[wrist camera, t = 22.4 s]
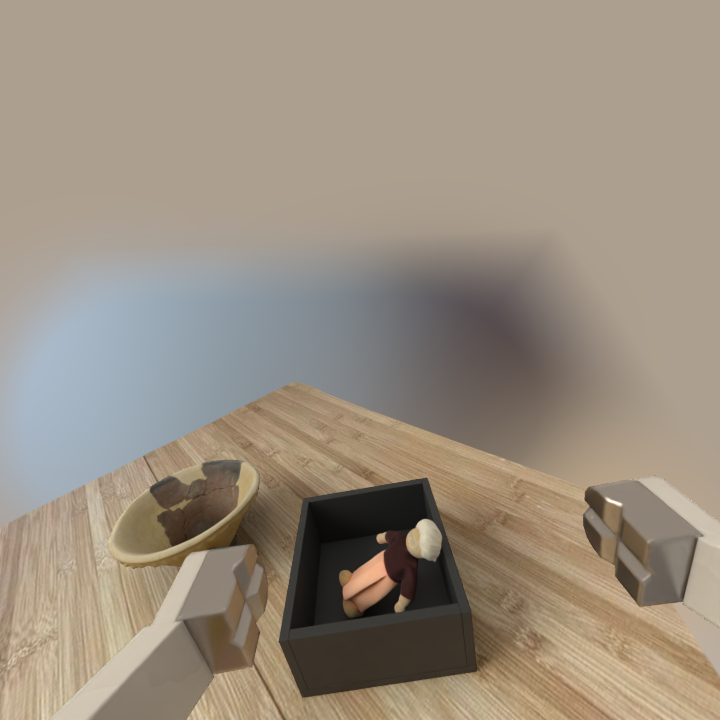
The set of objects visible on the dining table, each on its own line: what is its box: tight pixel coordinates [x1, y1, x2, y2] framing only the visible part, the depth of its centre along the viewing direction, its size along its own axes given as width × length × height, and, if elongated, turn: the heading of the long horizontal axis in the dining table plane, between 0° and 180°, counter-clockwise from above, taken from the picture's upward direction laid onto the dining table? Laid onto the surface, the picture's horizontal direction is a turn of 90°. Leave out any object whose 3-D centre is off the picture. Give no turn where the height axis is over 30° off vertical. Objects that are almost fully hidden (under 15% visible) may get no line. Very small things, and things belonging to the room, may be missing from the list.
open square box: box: [279, 478, 477, 697], centre depth 35 cm, size 16×16×8 cm
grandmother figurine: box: [339, 519, 442, 618], centre depth 33 cm, size 8×4×13 cm
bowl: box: [108, 460, 260, 569], centre depth 45 cm, size 18×18×10 cm
